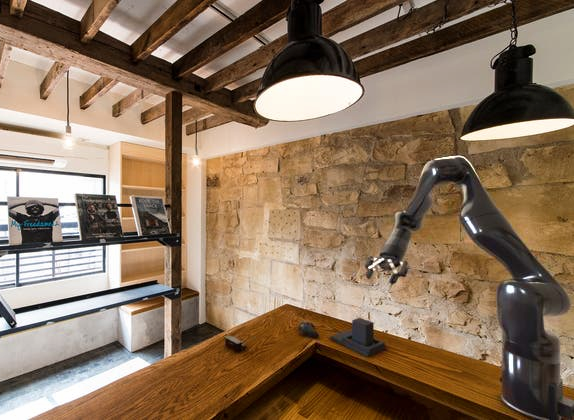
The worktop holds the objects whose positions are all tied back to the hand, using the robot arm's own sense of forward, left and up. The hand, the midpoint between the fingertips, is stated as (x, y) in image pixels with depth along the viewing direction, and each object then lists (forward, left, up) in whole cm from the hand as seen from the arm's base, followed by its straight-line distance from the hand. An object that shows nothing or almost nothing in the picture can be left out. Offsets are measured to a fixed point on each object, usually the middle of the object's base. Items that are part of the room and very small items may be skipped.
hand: (379, 280), depth 102 cm
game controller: (+17, +20, -23) cm, 35 cm away
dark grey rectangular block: (0, +11, -22) cm, 25 cm away
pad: (+2, +11, -23) cm, 26 cm away
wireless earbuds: (+21, +54, -23) cm, 62 cm away
